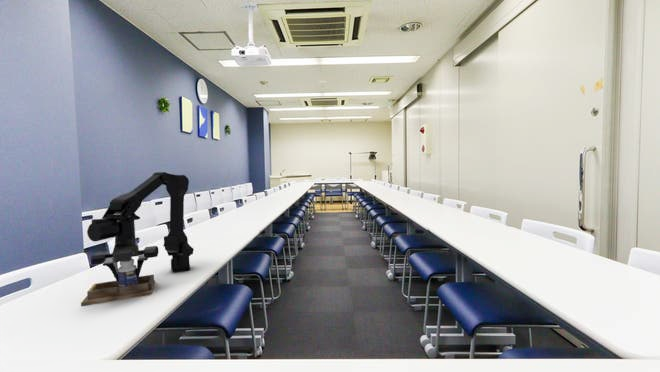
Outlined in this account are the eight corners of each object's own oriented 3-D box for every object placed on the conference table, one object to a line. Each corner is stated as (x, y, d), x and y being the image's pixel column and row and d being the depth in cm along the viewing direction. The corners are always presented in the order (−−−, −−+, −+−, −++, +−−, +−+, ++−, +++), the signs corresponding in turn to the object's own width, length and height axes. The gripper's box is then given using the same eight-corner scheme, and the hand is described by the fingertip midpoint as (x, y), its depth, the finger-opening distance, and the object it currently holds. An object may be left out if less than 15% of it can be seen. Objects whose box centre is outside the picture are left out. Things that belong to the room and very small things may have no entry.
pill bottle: (127, 291, 101) (126, 263, 101) (115, 290, 103) (113, 262, 102) (141, 285, 106) (140, 258, 106) (129, 284, 108) (127, 257, 107)
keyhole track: (155, 282, 113) (154, 273, 113) (151, 294, 102) (151, 284, 102) (92, 292, 105) (91, 282, 105) (81, 306, 94) (80, 295, 94)
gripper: (83, 243, 92) (87, 293, 93) (154, 236, 100) (156, 282, 101) (93, 235, 102) (97, 281, 103) (157, 230, 110) (159, 272, 111)
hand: (128, 279), depth 104 cm, fingers closed on pill bottle, 5 cm apart
